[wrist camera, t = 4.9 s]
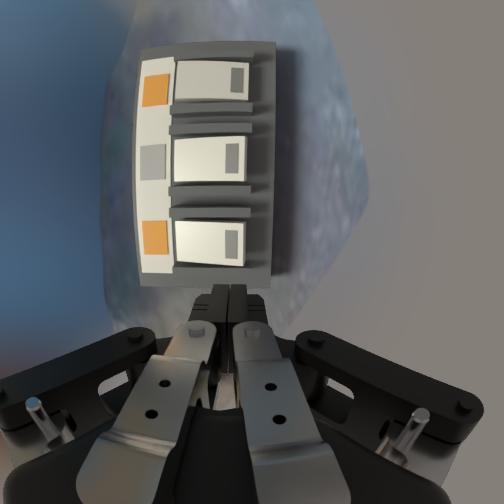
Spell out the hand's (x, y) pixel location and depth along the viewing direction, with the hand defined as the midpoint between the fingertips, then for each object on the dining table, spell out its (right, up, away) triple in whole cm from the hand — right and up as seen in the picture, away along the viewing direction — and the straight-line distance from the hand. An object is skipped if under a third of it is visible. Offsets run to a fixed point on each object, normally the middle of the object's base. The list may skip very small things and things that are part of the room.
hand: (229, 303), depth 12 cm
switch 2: (-3, +3, +11) cm, 12 cm away
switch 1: (-2, +17, +7) cm, 18 cm away
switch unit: (-4, +11, +13) cm, 18 cm away
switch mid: (-2, +10, +9) cm, 13 cm away
